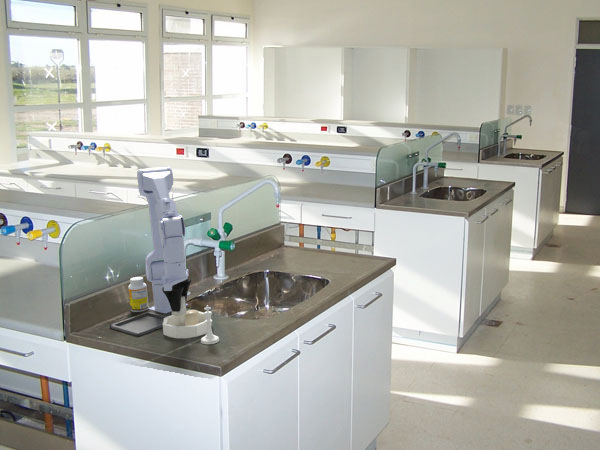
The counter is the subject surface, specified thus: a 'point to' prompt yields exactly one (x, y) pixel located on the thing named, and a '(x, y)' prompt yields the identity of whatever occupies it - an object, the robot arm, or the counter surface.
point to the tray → (140, 324)
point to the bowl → (184, 327)
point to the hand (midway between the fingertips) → (179, 308)
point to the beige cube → (191, 317)
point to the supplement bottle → (138, 294)
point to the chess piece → (209, 329)
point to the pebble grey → (183, 308)
